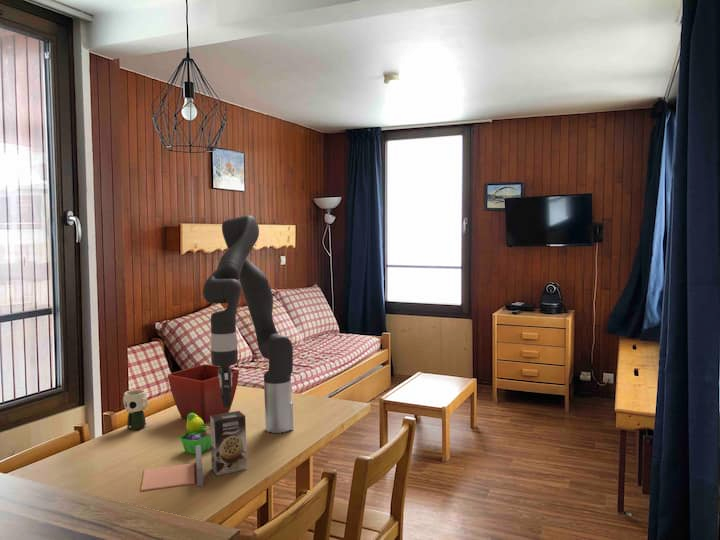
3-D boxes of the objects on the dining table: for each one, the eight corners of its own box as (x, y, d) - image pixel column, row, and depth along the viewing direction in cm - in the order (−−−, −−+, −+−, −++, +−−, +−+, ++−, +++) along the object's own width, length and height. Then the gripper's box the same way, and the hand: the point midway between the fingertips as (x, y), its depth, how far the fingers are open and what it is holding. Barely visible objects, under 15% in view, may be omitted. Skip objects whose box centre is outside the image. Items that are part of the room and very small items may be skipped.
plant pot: (242, 412, 226) (240, 369, 225) (204, 427, 210) (202, 381, 209) (206, 405, 237) (205, 363, 235) (168, 419, 221) (165, 374, 219)
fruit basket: (195, 457, 184) (194, 421, 183) (176, 451, 189) (174, 417, 188) (222, 445, 194) (221, 411, 193) (203, 440, 198) (201, 407, 197)
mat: (193, 464, 178) (193, 463, 178) (194, 483, 165) (194, 482, 165) (144, 470, 174) (144, 469, 174) (141, 491, 161) (140, 489, 161)
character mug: (117, 429, 211) (115, 393, 210) (132, 422, 218) (130, 388, 217) (141, 433, 207) (139, 396, 206) (155, 426, 213) (153, 390, 212)
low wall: (201, 460, 181) (200, 444, 180) (203, 485, 164) (202, 467, 163) (196, 461, 180) (195, 445, 180) (197, 486, 163) (196, 468, 163)
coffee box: (216, 476, 169) (214, 421, 168) (211, 468, 175) (209, 414, 174) (248, 469, 174) (245, 415, 172) (241, 462, 179) (239, 409, 178)
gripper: (239, 351, 166) (241, 408, 167) (235, 342, 179) (237, 395, 181) (211, 353, 164) (213, 411, 165) (209, 344, 177) (211, 397, 179)
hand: (225, 402), depth 173 cm, fingers open, 8 cm apart
